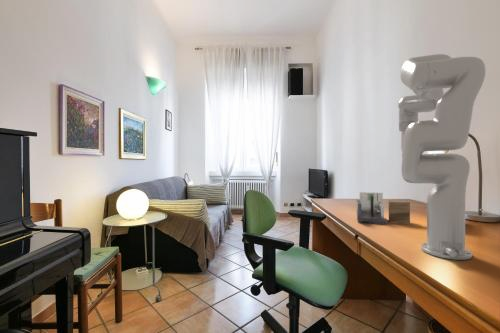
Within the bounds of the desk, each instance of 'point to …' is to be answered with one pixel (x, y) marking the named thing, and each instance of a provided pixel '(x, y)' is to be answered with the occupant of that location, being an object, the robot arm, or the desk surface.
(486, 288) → the desk surface
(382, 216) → the plate
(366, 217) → the stand
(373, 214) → the dark flat plank
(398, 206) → the push block
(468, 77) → the robot arm
